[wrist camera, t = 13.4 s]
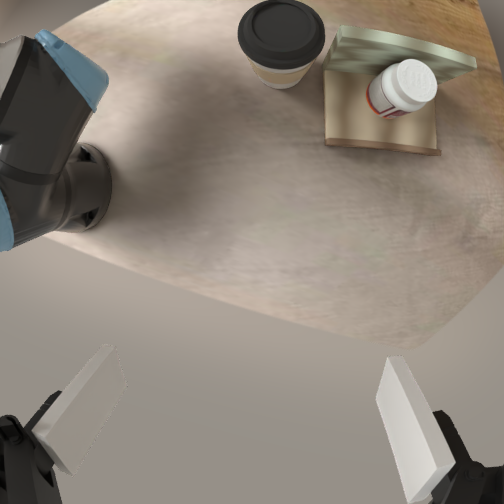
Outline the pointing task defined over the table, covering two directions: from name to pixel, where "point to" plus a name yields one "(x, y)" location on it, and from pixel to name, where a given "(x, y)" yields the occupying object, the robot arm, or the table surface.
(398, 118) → the wooden l-shaped piece
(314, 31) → the coffee cup
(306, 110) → the table surface
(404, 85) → the pill bottle
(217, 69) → the table surface
